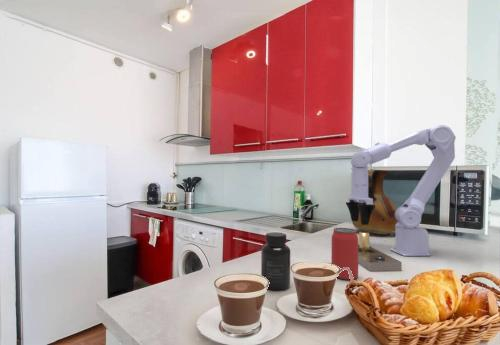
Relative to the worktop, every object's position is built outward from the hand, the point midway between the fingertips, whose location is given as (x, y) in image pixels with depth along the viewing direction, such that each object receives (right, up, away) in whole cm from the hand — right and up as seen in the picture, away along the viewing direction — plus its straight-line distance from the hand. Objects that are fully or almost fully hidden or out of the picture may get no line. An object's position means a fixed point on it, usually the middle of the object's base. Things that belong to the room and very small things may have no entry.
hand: (359, 222), depth 97 cm
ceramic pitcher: (+19, -10, +28) cm, 36 cm away
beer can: (-15, -9, -27) cm, 33 cm away
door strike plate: (-3, -9, -11) cm, 15 cm away
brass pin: (-3, -9, -11) cm, 15 cm away
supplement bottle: (-34, -9, -34) cm, 48 cm away
